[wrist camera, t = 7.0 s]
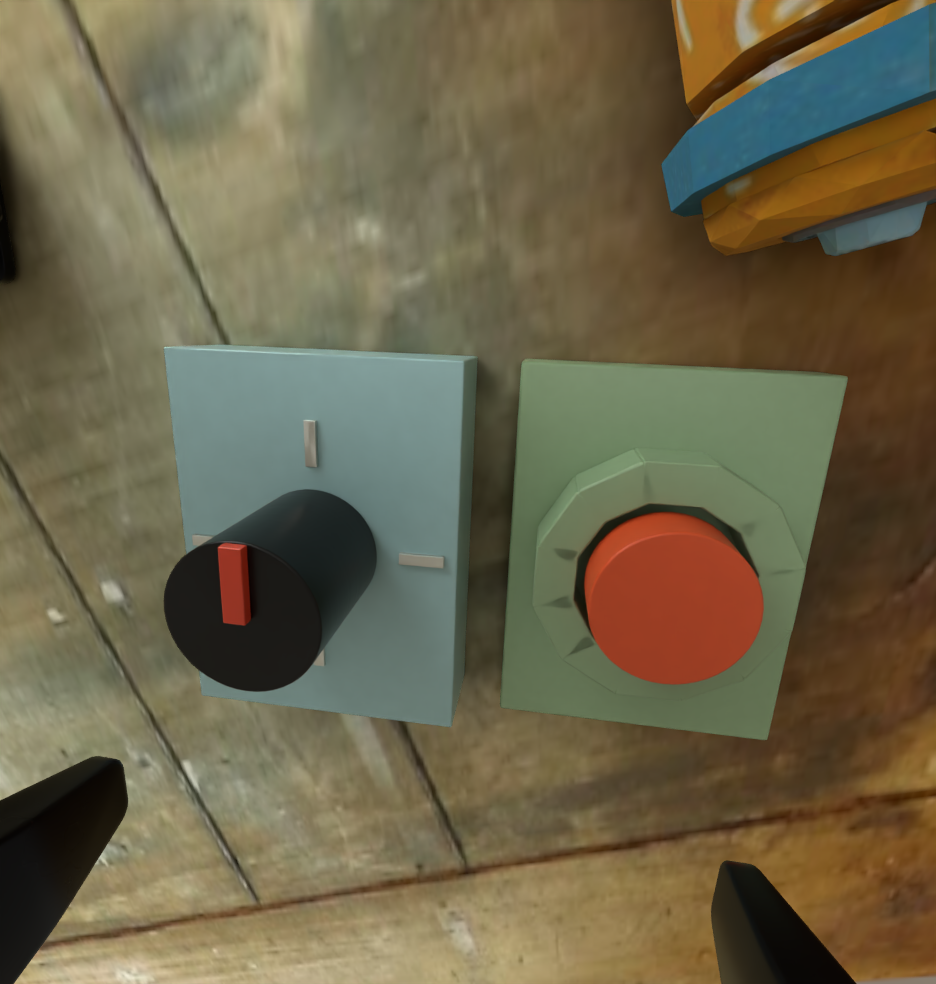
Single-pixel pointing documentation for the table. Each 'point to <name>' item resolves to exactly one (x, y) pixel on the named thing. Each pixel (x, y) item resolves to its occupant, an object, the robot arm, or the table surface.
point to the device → (806, 121)
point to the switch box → (658, 488)
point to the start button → (671, 598)
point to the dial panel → (357, 480)
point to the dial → (270, 590)
